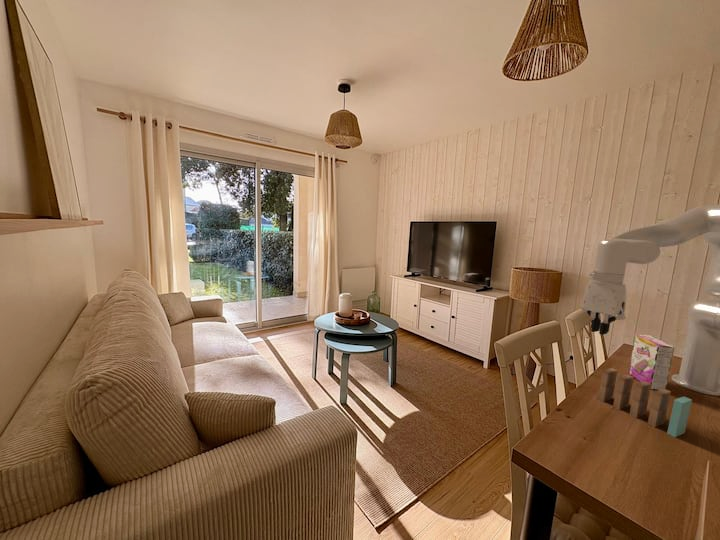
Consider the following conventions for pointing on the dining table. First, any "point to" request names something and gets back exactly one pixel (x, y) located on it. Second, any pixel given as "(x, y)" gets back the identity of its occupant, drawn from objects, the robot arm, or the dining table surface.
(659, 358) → the candy bar box
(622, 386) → the domino
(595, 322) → the robot arm
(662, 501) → the dining table surface
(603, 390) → the domino
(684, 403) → the teal domino
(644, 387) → the domino
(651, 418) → the domino
